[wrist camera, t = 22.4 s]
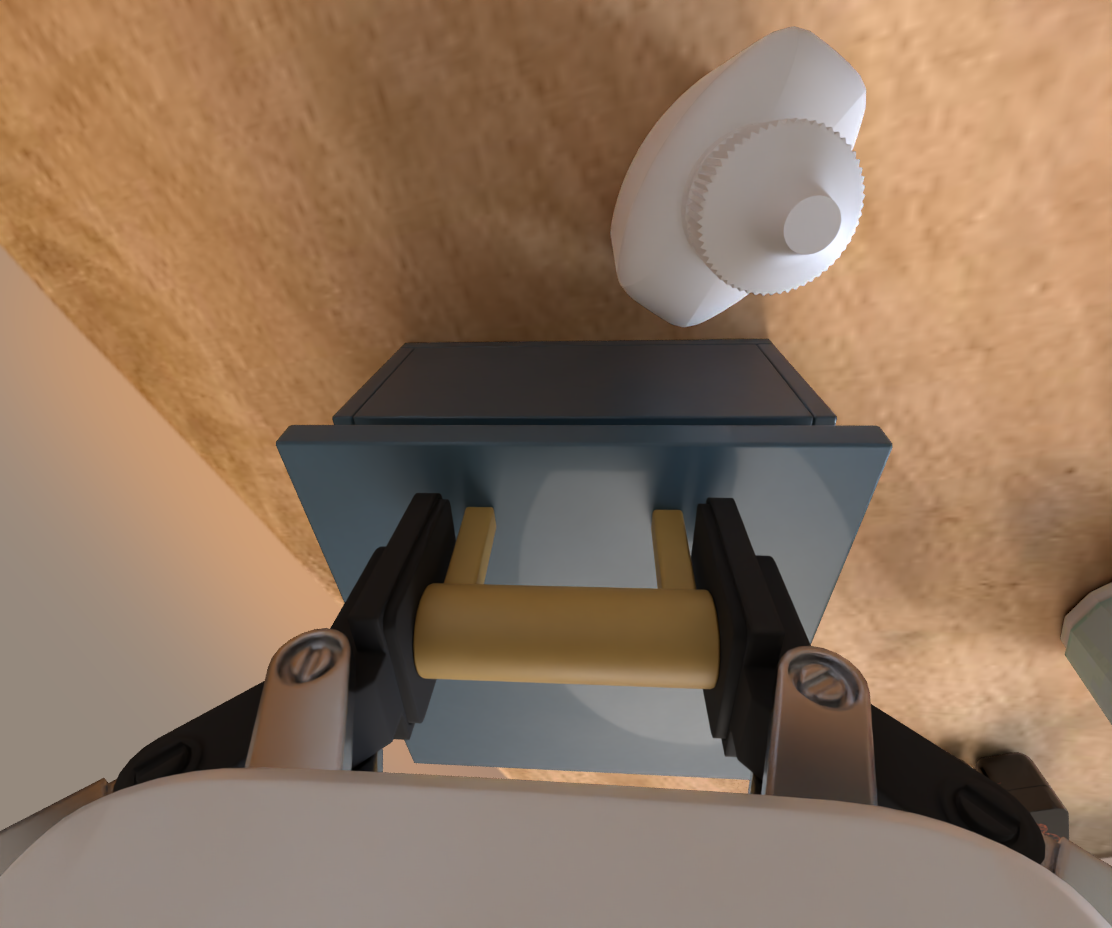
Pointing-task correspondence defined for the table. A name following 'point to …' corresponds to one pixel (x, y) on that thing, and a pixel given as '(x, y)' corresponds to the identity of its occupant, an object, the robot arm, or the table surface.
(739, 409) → the chest
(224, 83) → the table surface
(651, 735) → the lid
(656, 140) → the eye dropper bottle
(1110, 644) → the disposable coffee cup
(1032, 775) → the wireless earbuds
